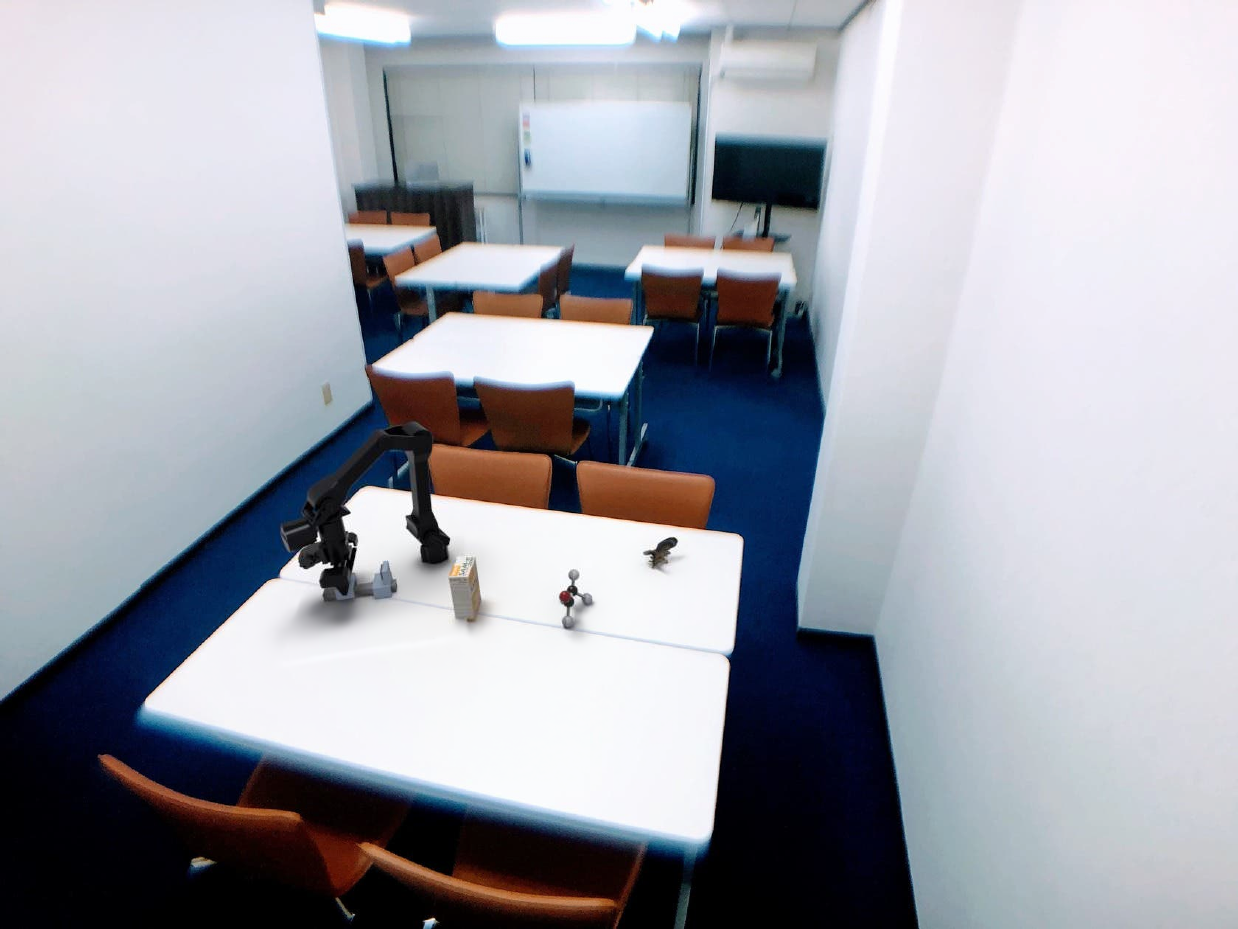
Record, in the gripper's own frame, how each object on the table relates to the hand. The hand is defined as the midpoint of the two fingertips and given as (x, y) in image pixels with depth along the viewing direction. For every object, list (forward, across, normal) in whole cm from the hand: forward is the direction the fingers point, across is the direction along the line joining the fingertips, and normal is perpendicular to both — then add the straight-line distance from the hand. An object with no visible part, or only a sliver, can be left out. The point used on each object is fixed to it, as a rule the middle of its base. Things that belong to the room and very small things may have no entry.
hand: (346, 587), depth 169 cm
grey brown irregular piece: (+4, +2, +79) cm, 79 cm away
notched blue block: (+1, 0, 0) cm, 1 cm away
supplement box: (+4, +11, +29) cm, 31 cm away
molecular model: (+4, +18, +53) cm, 56 cm away
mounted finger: (+2, 0, +8) cm, 9 cm away
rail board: (+4, 0, +3) cm, 5 cm away
